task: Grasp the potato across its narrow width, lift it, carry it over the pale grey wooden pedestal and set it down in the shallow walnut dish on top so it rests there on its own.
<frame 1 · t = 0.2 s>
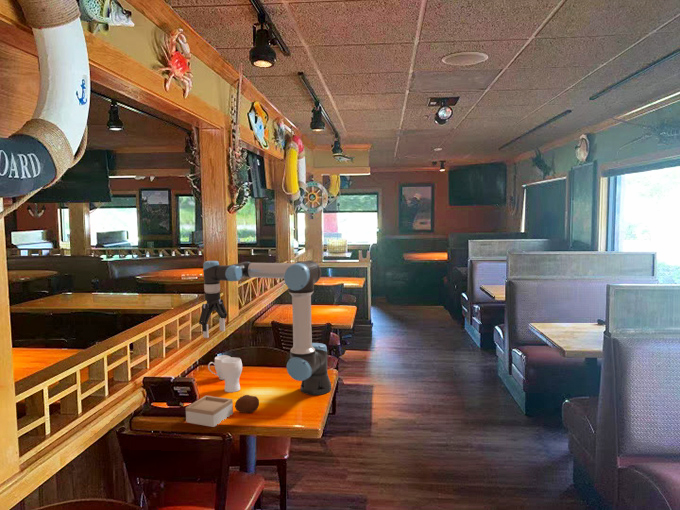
hand: (214, 334, 249), 28 cm above the table, fingers open, 13 cm apart
mug: (220, 379, 265), on the table
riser: (210, 417, 216), on the table
potato: (247, 412, 221), on the table
cup: (232, 389, 249), on the table
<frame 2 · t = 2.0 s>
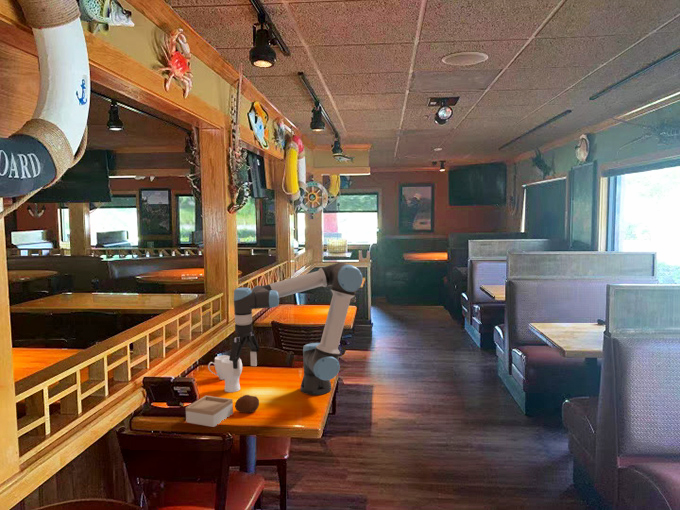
hand: (245, 370, 220), 19 cm above the table, fingers open, 13 cm apart
nothing on the table moved.
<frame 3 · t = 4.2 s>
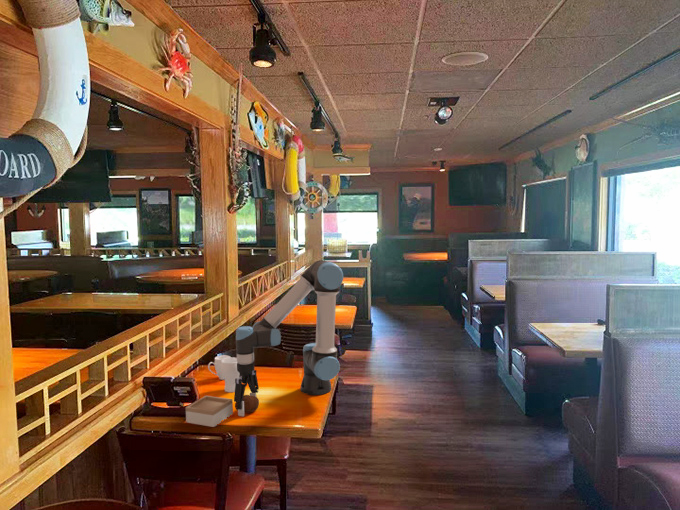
hand: (247, 411, 221), 0 cm above the table, fingers open, 9 cm apart
potato: (247, 412, 221), on the table, touching gripper
everything else where it was.
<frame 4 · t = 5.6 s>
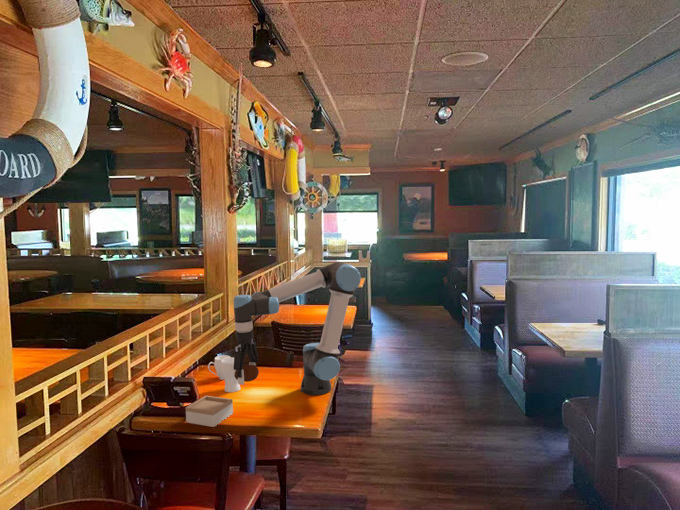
hand: (247, 380, 220), 14 cm above the table, fingers closed on potato, 9 cm apart
potato: (247, 381, 220), point 14 cm above the table, touching gripper
everything else where it was.
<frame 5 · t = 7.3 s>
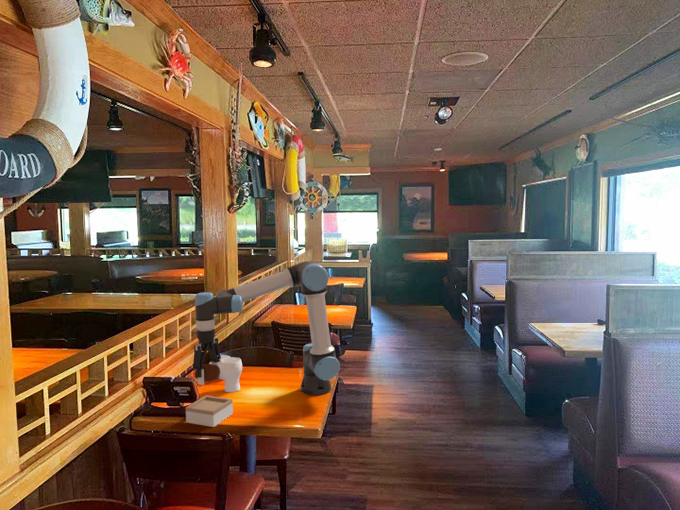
hand: (208, 380, 214), 17 cm above the table, fingers closed on potato, 9 cm apart
potato: (208, 381, 214), point 16 cm above the table, touching gripper
everything else where it was.
when the fingers open (6 cm above the table, at t = 9.5 s): potato stays where it is, resting on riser.
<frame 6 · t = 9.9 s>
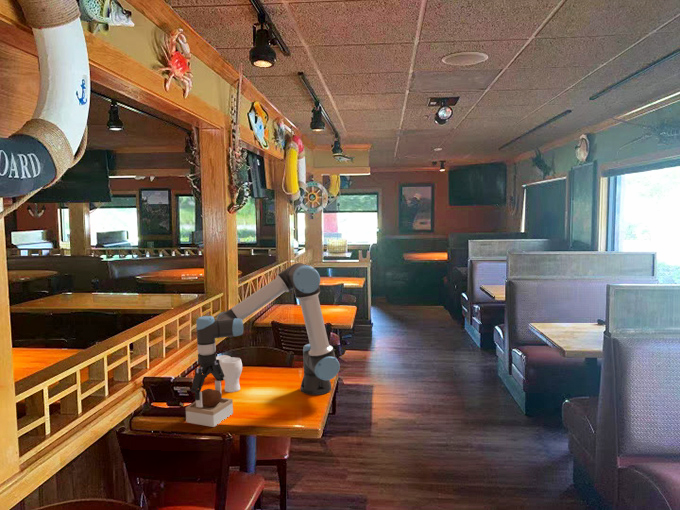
hand: (209, 400, 215), 8 cm above the table, fingers open, 13 cm apart
potato: (209, 406, 215), point 5 cm above the table, touching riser
everything else where it was.
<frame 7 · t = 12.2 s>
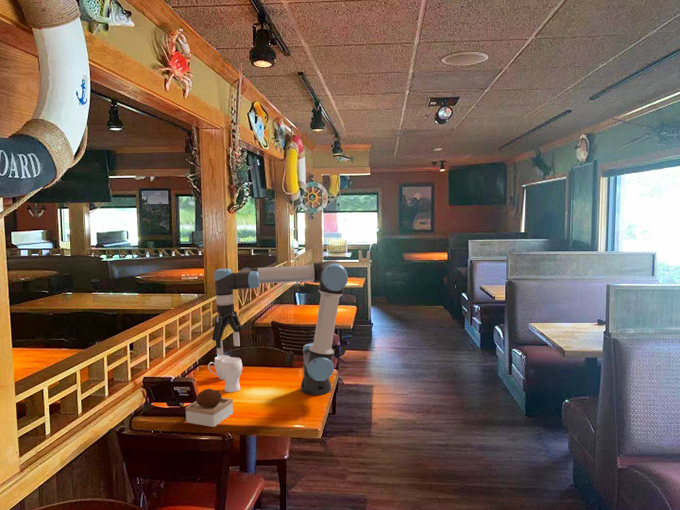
hand: (228, 350, 223), 27 cm above the table, fingers open, 13 cm apart
nothing on the table moved.
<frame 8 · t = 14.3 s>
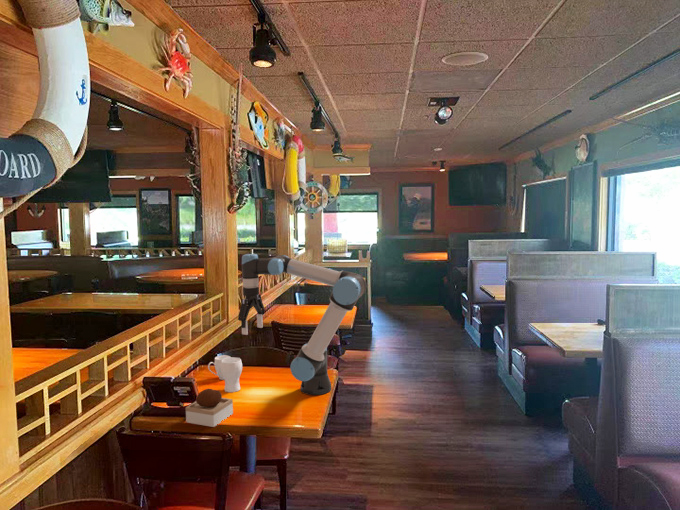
hand: (252, 330, 237), 32 cm above the table, fingers open, 13 cm apart
nothing on the table moved.
at the end: potato inside the target area on the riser (0.2 cm from its centre), point 5.2 cm above the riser's base; the gripper is holding nothing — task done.
